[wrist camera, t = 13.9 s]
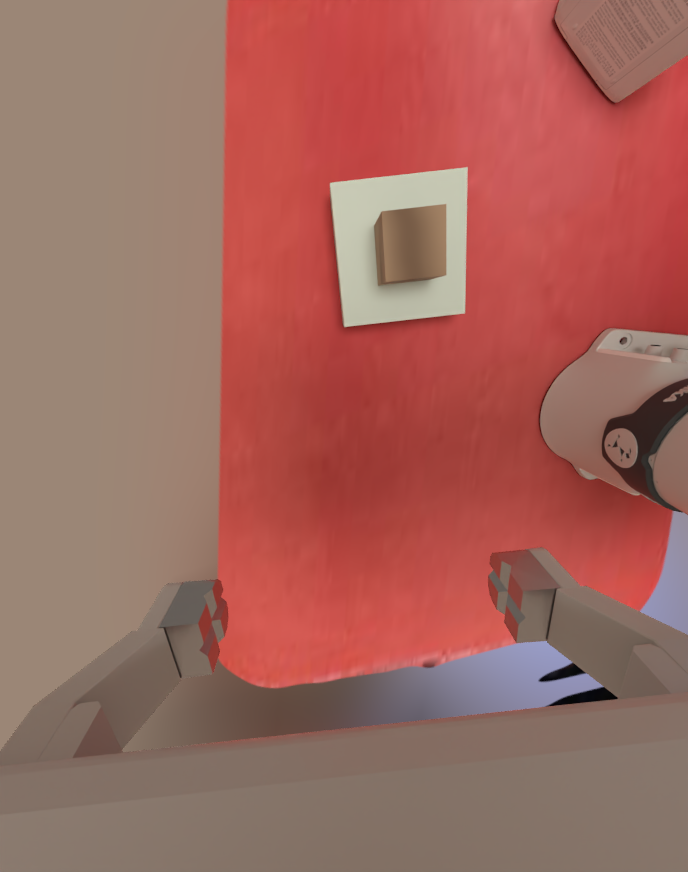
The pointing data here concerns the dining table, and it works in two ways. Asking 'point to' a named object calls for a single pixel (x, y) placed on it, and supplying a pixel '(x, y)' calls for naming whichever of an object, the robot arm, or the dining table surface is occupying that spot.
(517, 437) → the dining table surface
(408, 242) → the walnut cube
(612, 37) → the white slotted box
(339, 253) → the mint base block
